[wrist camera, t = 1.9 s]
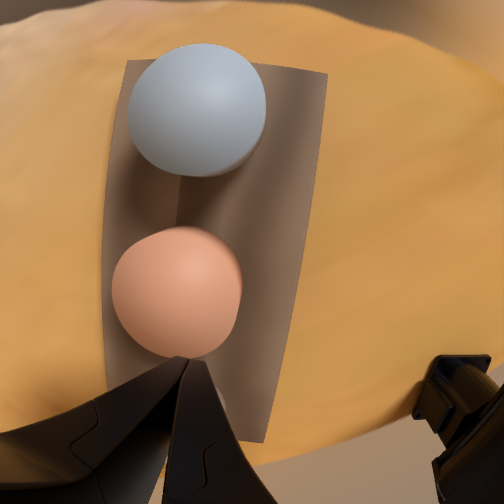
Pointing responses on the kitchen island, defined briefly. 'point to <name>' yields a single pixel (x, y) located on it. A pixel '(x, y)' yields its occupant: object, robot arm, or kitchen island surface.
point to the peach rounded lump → (178, 291)
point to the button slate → (198, 111)
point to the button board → (224, 237)
